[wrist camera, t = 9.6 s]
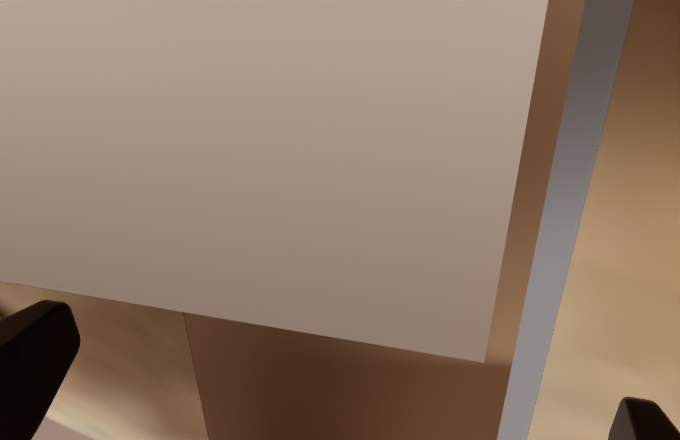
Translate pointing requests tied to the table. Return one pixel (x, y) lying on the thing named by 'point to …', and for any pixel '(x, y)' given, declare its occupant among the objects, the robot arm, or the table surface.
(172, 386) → the table surface
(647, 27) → the table surface
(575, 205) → the block
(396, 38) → the block
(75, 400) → the table surface
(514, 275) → the tan long bar
